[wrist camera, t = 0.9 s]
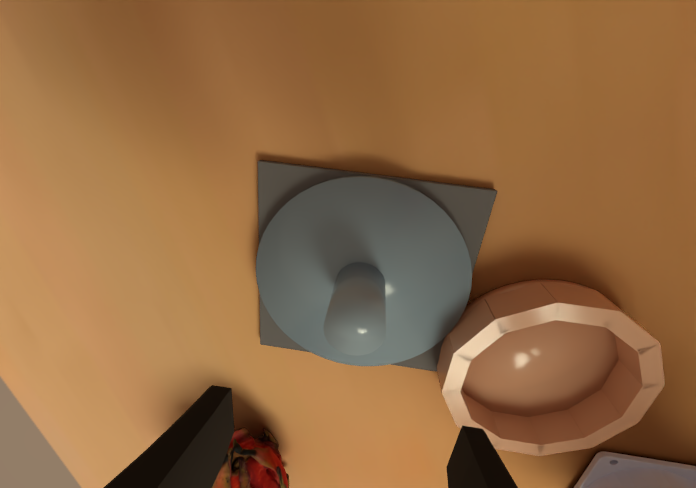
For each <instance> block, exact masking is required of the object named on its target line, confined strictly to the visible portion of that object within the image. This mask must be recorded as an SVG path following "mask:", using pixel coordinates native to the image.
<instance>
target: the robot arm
mask: <svg viewBox="0 0 696 488" xmlns="http://www.w3.org/2000/svg"><path fill="white" fill-rule="evenodd" d="M233 434H234V420H233V405H232V390H231V388H226V387H220V386H213V385H212V386H211V387H209V388H208V389H207V390H206V392H205V393H204V394H203V395H202V396H201V397H200V398H199V399H198V400H197V401H196V402H195V403H194V404H193V405H192V406H191V407H190V408H189V409H188V410H187V411H186V412H185V413H184V414H183V415H182V416H181V417H180V418H179V419H178V420H177V421H176V422H175V423H174V424H173V425H172V426H171V427H170V428H169V429H168V430H167V431H166V432H165V433H163V434H162V435H161V436H160V437H159V438H158V439H157V440H156V441H155V442H154V443H153V444H152V445H151V446H150V447H149V448H148V449H147V450H146V451H144V452H143V453H142V454H141V455H140V456H139V457H138V458H137V459H136V460H134V461H133V462H132V463H131V464H130V465H129V466H128V467H127V468H125V469H124V470H123V471H122V472H121V473H120V474H119V475H117V476H116V477H115V478H114V479H113V480H112V481H111V482H110V483H108V484H107V485H106V486H105V487H104V488H212V486H213V484H214V482H215V480H216V478H217V475H218V473H219V471H220V469H221V467H222V464H223V461H224V459H225V456H226V453H227V451H228V448H229V445H230V442H231V439H232V437H233ZM447 476H448V488H518V487H517V486H516V484H515V482H514V481H513V479H512V477H511V475H510V474H509V472H508V470H507V469H506V467H505V465H504V464H503V462H502V460H501V459H500V457H499V455H498V453H497V452H496V450H495V448H494V446H493V445H492V443H491V441H490V440H489V438H488V436H487V434H486V433H485V431H484V430H483V429H481V428H475V427H468V426H462V428H461V430H460V433H459V436H458V438H457V441H456V444H455V446H454V449H453V452H452V454H451V457H450V460H449V462H448V465H447ZM574 488H696V466H693V465H686V464H680V463H674V462H668V461H662V460H656V459H649V458H643V457H637V456H631V455H625V454H619V453H612V452H606V451H602V452H599V453H597V454H596V455H595V457H594V458H593V460H592V461H591V463H590V464H589V466H588V467H587V469H586V470H585V472H584V473H583V475H582V476H581V478H580V479H579V481H578V482H577V484H576V485H575V487H574Z"/></svg>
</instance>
